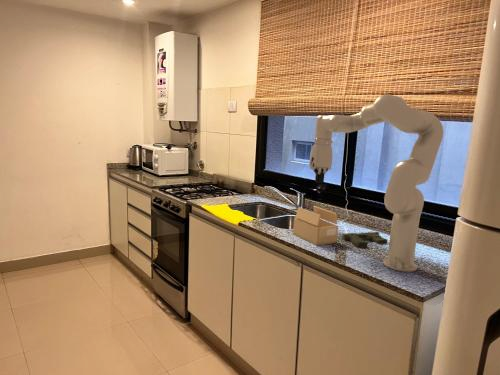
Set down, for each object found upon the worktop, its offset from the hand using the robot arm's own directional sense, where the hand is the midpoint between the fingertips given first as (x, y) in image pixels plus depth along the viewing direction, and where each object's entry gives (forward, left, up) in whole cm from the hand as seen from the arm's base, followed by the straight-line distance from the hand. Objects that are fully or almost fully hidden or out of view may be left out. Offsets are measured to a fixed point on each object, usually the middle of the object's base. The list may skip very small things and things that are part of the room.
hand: (319, 182), depth 171 cm
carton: (0, 0, -27) cm, 27 cm away
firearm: (+8, -24, -28) cm, 38 cm away
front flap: (-3, +3, -16) cm, 17 cm away
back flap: (+3, -3, -16) cm, 17 cm away
